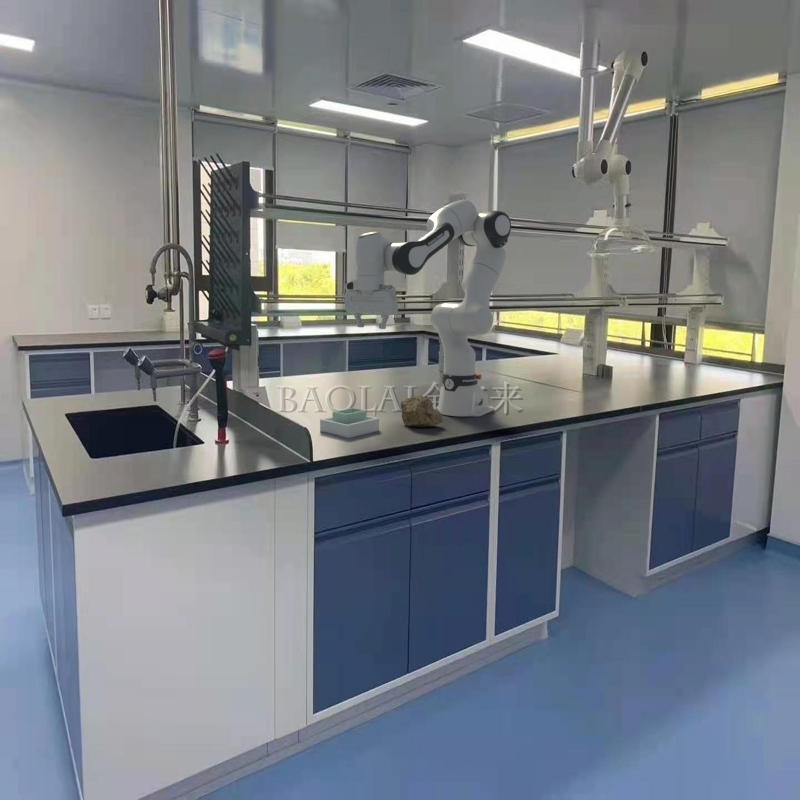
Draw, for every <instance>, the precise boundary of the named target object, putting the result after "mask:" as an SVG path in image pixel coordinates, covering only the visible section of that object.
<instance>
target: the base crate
mask: <svg viewBox="0 0 800 800" xmlns="http://www.w3.org/2000/svg"><path fill="white" fill-rule="evenodd" d="M319 427H320V428H319V431H320V433H322V434H327V435H331V436H335V437H340V438H343V439H347V440H348V439H351V438H355V437H359V436H364V435H368V434H371V433H377V432H379V431H380V418H379V417H375V416H369V415H367V420H365V421H361V422H356V423H352V424H343V423H339V422H334V421H333V416H331V417H325V418H321V419H320V420H319Z"/></svg>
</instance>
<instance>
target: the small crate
mask: <svg viewBox="0 0 800 800" xmlns="http://www.w3.org/2000/svg"><path fill="white" fill-rule="evenodd" d="M367 411H368V410H366V409H362V408H357V407H350V408H345V409H339V410H335V411H332V417H333V421H334V422H339V423H343V424H352V423H356V422H361V421H365V420H367V416H368V415H367Z"/></svg>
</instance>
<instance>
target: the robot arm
mask: <svg viewBox="0 0 800 800" xmlns="http://www.w3.org/2000/svg"><path fill="white" fill-rule="evenodd" d="M511 230H512V222H511V218H510V216H509V215H508V214H507V213H506V212H504V211H501V210H491V211H484V212H480V213H478V211H477V208H476V205H475V204H474V203H473V202H472V201H470V200H468V199H465V198H464V199H460V200H455V201H453V202H451V203H449V204H446V205H445V206H443V207H441V208H439V209H437V210H436V211H435V212H434V213H433V214H432V215H430V217H428V219H427V222H426V231H427V234H425V235H424V236H423V237H421V238H420V239H418V240H417V241H413V240H412V241H406V242H394V241H392V240H390V239H388V238H387V237H386V236H385V235H383V234H382V233H381V232H380V231H371V232H369V231H368V232H365V233H364V232H363V233H361V234H360V235H359V236H358V237H357V240H356V248H355V262H356V266H357V267H356V268H357V269H356V278H355V279H353V280H351V281H348V282H346V283H344V289H345V294H344V310H345V311H346V313H350V314H353V315H354V319H355V321H356V324H357V325H356V326H357V328H364V327H365V321H363V319H362V315H363V314H364V315H380V318H381V320H380V321H381V322H379V323H378V328H379V330H385V329H387V322H388V320H389V319H390V316H395V315H397V314H398V312H399V305H398V297H397V290H396V288H395V287H394V286H393V285H391V284H385V273H386V274H398V275H400V274H403V275H408V276H413V275H416V274H418V273H420V271H421V270H422V269H423V268H424V266H425V265H426V263H427V262H428V260H429V259H430V258H432V257H433V256H434V255H435V254H437V253H438V252H439V251H441V250H442V249H444V248H445V247H446V246H447V245H449V243H450V242H452V241H454V240H456V239H457V240H458V241H459V242H460V243H461V244H462V245H464V246H467V247H475V246H476V251H475V254H474V257H473V259H472V260H471V263H470V265H469V267H468V268H467V271H466V272H465V275H464V276H463V279H462V280H461V290H462V291H463V293H464V297H463V300H462V302H452V301H450V302H444V303H439V304H437V305H435V306H434V307H433V309H432V310H431V315H430V322H431V325H432V327H433V328H434V330H436V332H437V334H438V336H439V337H440V340H441V341H440V342H441V345H442V350H443V373H442V376H441V379H442V380H441V383H442V386H441V387H440V390H439V396H438V397H439V398H438V405H437V406H436V408H435V410H438V411H439V412H440V413H441V415H444V416H450V417H451V416H452V417H482V416H484V415H487V414H488V413H491V412H492V411H494V410H495V406H492V405H489V396H488V394H487V392H485V390H484V389H482V388H481V386H480V385H479V384H478V383H479V382H478V381H481V380H482V374H480V373H476V357H477V355H476V351H475V349H474V348H473V347H472V346H471V345H470V343H469V341H468V337H467V336H469V337H477V336H483V335H486V334H488V333H489V332H490V331H491V329H492V327H493V324H494V315H493V312H492V311H491V309H490V299H491V296H492V295H491V294H492V293H493V290H494V288H495V285H496V284H497V282H498V279H499V278H500V276H501V273H502V270H503V267H504V265H505V261H506V255H507V254H506V251H505V249H504V248H503V247H504V246H506V244H507V243H508V239H509V237H510V235H511V232H512V231H511Z"/></svg>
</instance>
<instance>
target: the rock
mask: <svg viewBox="0 0 800 800" xmlns="http://www.w3.org/2000/svg"><path fill="white" fill-rule="evenodd" d="M400 408H401V419H402V421H403V424H404V425H405V426H406V427H410V428H412V427H416V428H426V427H434V426H435V425H439V424H442V423H443V417H442V416H443V414H441V413H440V412H439V411H438V410H437V409H436V408H434V407H433V401H432V400H431V399H430V398H428V397H424V396H423V395H420V396H419V395H417V396H416V395H414V396H411V397H410V396H409V397H408V398H406V399H405V400H401V401H400Z"/></svg>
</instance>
